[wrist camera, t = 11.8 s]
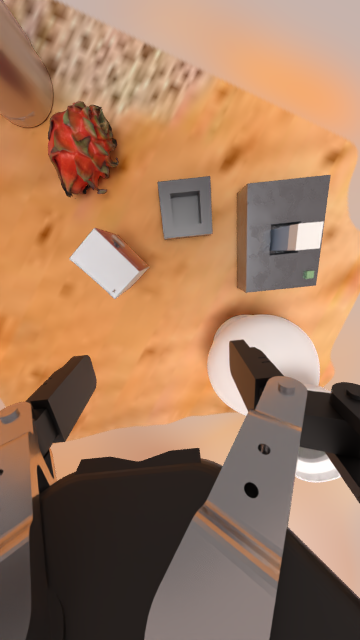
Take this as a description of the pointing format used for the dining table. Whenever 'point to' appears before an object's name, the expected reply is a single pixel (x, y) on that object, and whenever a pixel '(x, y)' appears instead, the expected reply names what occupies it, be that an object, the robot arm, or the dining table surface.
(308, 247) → the plug
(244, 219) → the port
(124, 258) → the small box
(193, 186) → the holster
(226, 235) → the dining table surface
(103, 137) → the dragon fruit
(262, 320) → the decorative vase
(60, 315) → the dining table surface
